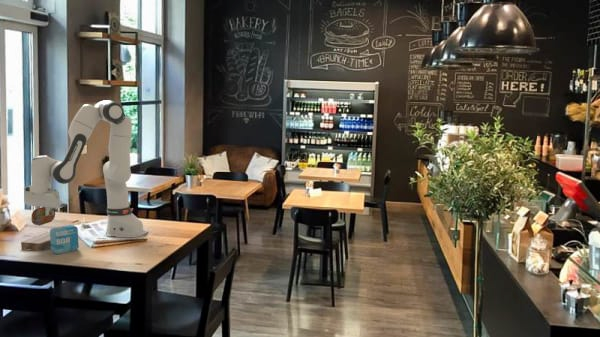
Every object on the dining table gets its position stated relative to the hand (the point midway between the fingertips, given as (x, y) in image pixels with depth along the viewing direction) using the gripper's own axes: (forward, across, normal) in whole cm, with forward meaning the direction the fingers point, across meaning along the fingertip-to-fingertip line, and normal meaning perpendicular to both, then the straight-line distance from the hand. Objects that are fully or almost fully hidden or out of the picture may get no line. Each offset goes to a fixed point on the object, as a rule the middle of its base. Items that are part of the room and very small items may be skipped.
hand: (43, 215), depth 303 cm
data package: (+15, -18, +6) cm, 24 cm away
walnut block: (+16, 0, 0) cm, 16 cm away
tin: (+4, +1, 0) cm, 4 cm away
